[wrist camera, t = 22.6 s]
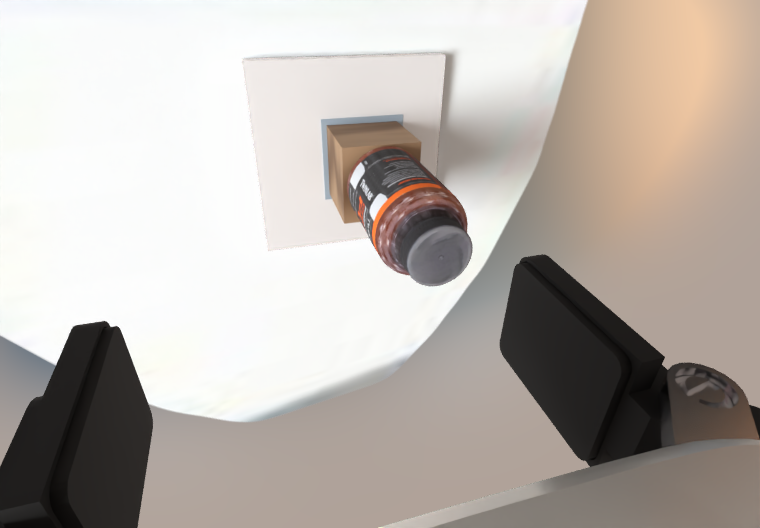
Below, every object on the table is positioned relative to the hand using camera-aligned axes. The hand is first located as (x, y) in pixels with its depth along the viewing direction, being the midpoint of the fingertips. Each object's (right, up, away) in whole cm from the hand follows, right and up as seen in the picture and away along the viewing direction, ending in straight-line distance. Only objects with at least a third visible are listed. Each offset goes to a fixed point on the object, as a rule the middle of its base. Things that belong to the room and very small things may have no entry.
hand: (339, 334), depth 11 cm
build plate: (-2, +11, +30) cm, 32 cm away
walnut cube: (-1, +11, +29) cm, 31 cm away
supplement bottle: (+1, +8, +24) cm, 25 cm away
